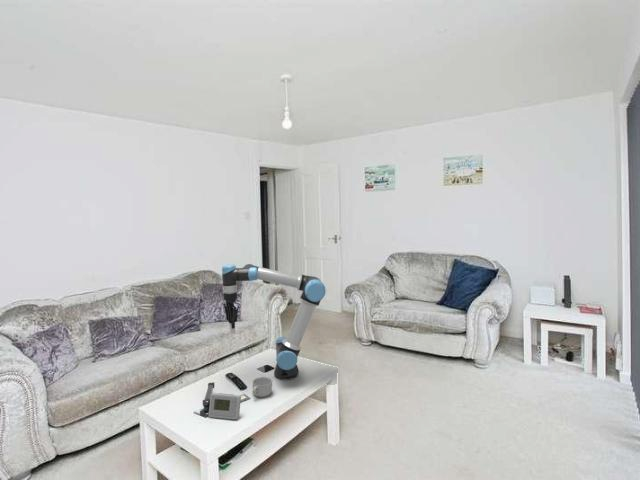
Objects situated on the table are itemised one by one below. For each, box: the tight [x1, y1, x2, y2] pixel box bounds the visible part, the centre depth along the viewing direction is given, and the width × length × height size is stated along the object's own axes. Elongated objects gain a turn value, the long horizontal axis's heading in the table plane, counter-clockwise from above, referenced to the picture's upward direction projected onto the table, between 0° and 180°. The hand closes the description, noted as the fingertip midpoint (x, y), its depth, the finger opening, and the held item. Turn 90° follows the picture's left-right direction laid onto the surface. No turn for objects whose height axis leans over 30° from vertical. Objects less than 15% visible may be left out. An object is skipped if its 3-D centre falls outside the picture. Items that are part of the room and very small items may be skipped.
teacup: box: [252, 376, 273, 398], centre depth 199 cm, size 14×11×8 cm
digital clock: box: [208, 392, 242, 421], centre depth 179 cm, size 16×9×11 cm, turn 67°
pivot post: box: [199, 406, 209, 417], centre depth 183 cm, size 7×7×4 cm
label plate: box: [240, 393, 251, 404], centre depth 196 cm, size 8×6×1 cm
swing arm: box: [202, 382, 215, 407], centre depth 192 cm, size 22×4×2 cm, turn 10°
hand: (232, 333), depth 206 cm, fingers closed
